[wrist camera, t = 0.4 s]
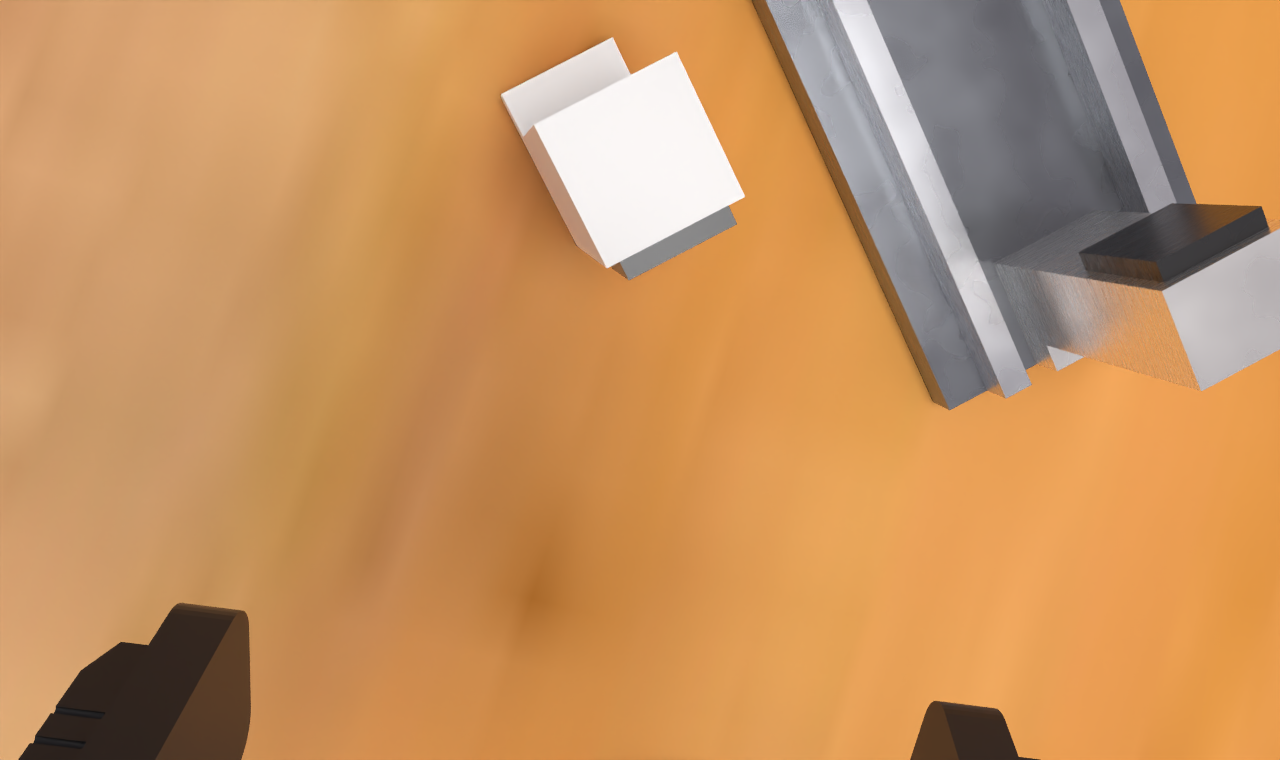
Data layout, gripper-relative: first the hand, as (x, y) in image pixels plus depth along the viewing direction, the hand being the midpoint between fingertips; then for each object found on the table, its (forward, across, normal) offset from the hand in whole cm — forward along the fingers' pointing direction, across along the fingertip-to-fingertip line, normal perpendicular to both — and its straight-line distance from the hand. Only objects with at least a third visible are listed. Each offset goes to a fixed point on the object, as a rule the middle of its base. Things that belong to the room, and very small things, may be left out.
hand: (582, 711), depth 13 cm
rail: (+30, -12, -2) cm, 32 cm away
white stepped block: (+27, +1, +1) cm, 27 cm away
